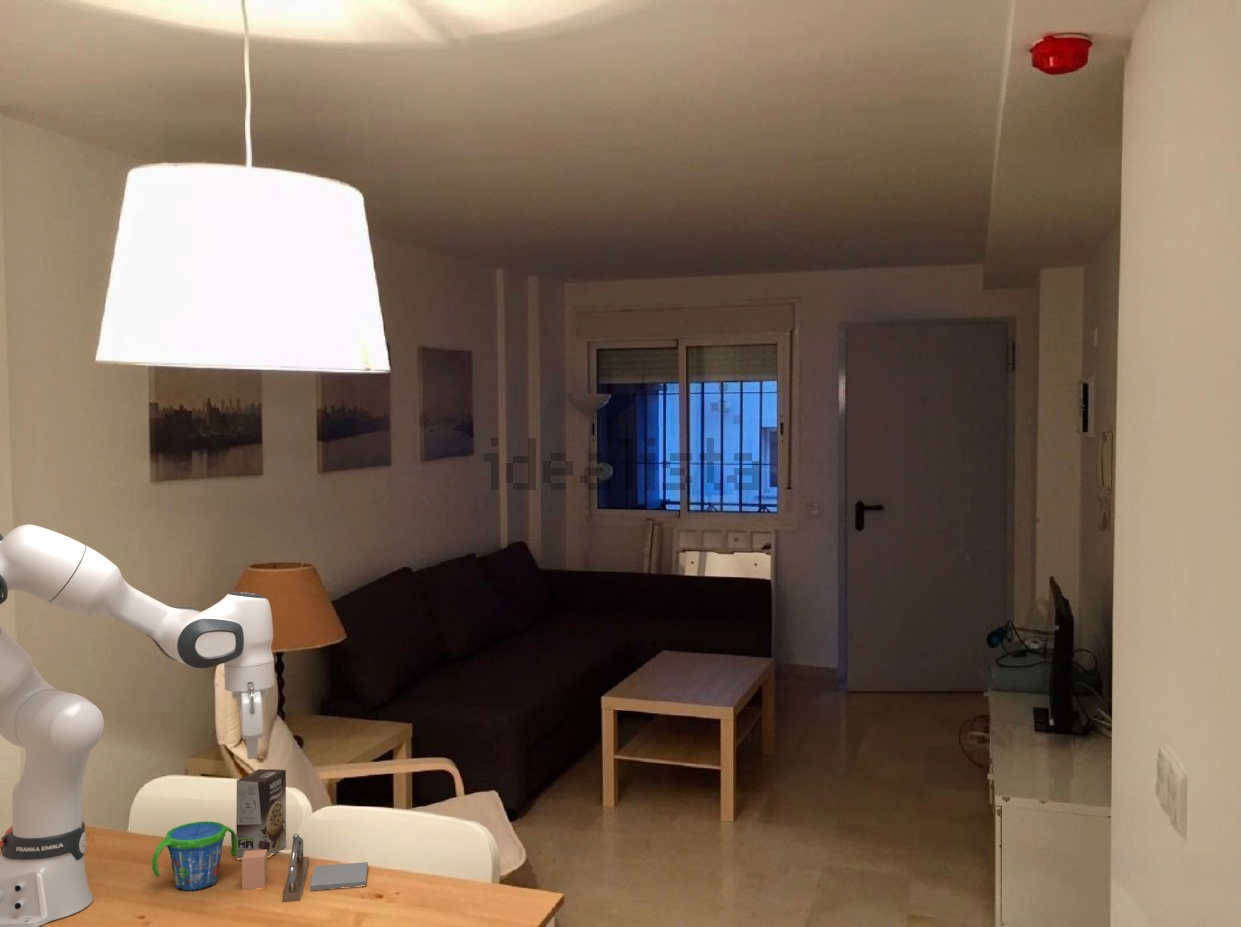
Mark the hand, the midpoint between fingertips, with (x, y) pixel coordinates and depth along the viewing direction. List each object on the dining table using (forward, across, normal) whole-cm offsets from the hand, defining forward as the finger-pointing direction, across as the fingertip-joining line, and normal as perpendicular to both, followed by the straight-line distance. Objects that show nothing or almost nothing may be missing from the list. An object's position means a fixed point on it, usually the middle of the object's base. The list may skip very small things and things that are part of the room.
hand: (251, 751), depth 201 cm
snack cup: (+26, +5, +10) cm, 28 cm away
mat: (+26, -2, -15) cm, 30 cm away
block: (+26, 0, 0) cm, 26 cm away
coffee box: (+26, +17, -2) cm, 31 cm away
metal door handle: (+26, -1, -7) cm, 27 cm away
